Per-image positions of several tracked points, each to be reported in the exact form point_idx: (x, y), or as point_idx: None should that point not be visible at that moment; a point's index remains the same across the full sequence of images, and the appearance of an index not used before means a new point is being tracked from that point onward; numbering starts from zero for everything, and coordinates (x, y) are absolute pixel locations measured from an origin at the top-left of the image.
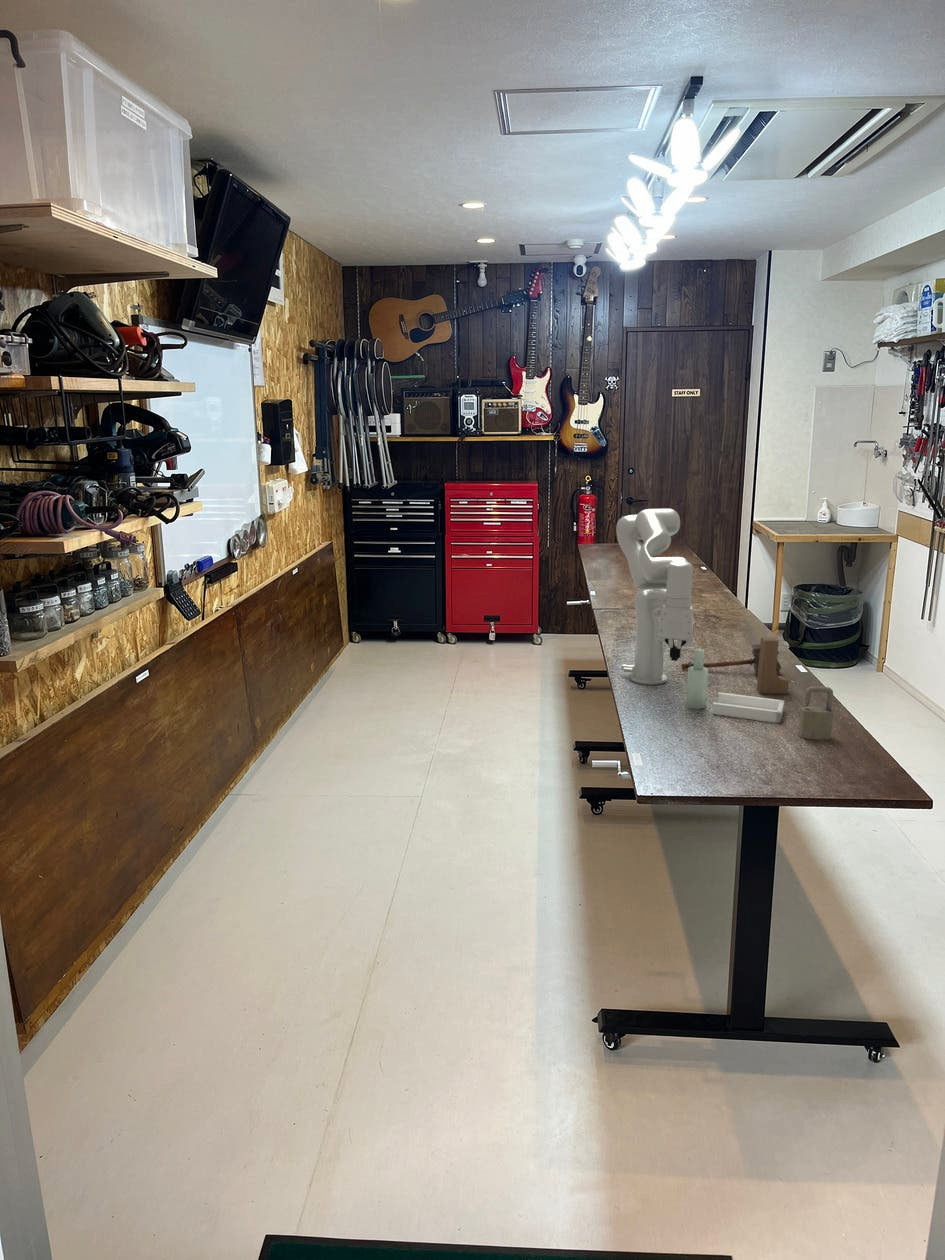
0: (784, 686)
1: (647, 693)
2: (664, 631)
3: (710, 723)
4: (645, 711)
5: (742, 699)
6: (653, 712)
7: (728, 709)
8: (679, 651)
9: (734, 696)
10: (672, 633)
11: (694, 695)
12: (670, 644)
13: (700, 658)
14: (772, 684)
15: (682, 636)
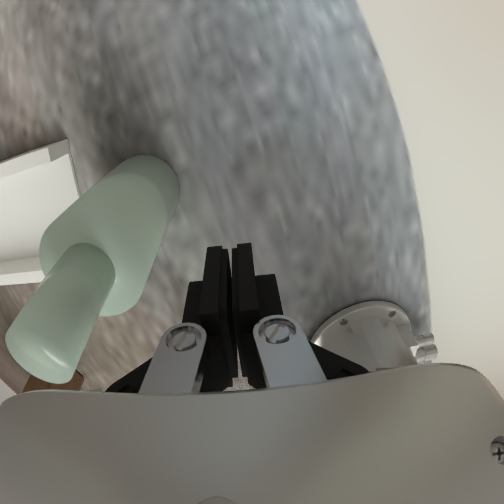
0: (29, 382)
1: (344, 232)
2: (451, 464)
3: (50, 53)
4: (299, 34)
5: (26, 267)
6: (267, 36)
7: (15, 157)
8: (183, 315)
9: (41, 268)
10: (268, 485)
11: (122, 169)
12: (285, 345)
13: (33, 293)
14: (40, 381)
15: (67, 438)
